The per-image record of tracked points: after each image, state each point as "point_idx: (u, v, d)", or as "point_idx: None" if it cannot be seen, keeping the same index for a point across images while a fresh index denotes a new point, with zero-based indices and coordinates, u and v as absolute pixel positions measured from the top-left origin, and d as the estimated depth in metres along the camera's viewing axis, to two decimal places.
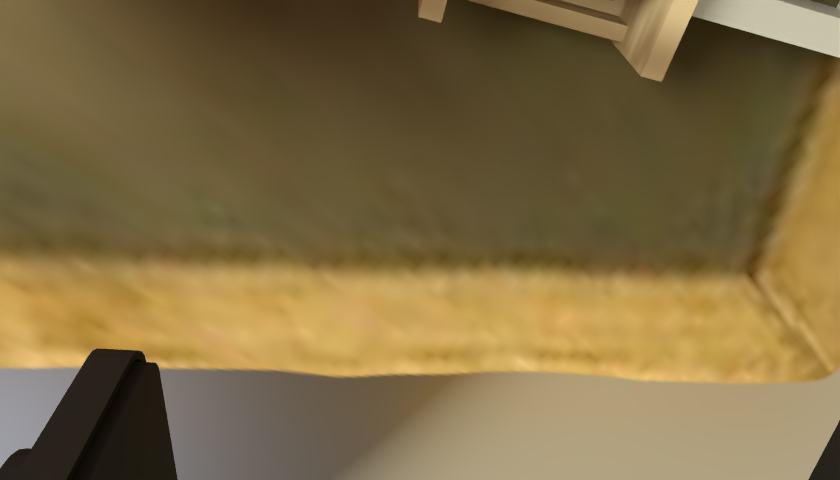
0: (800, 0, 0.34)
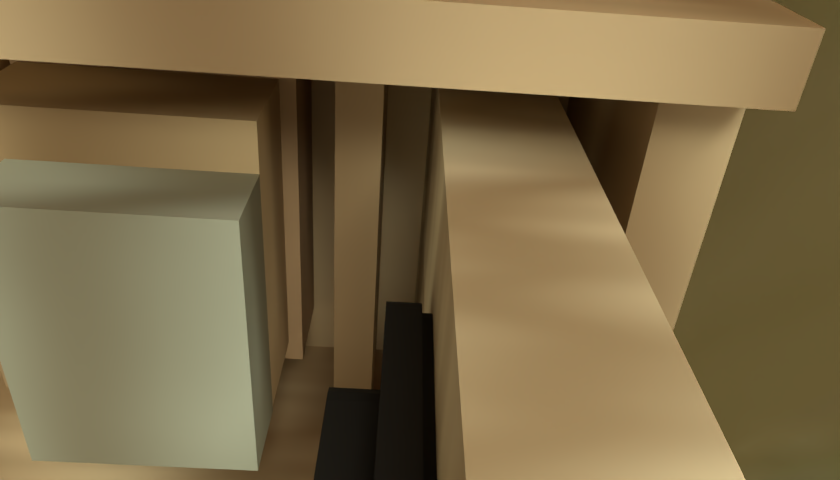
0: None
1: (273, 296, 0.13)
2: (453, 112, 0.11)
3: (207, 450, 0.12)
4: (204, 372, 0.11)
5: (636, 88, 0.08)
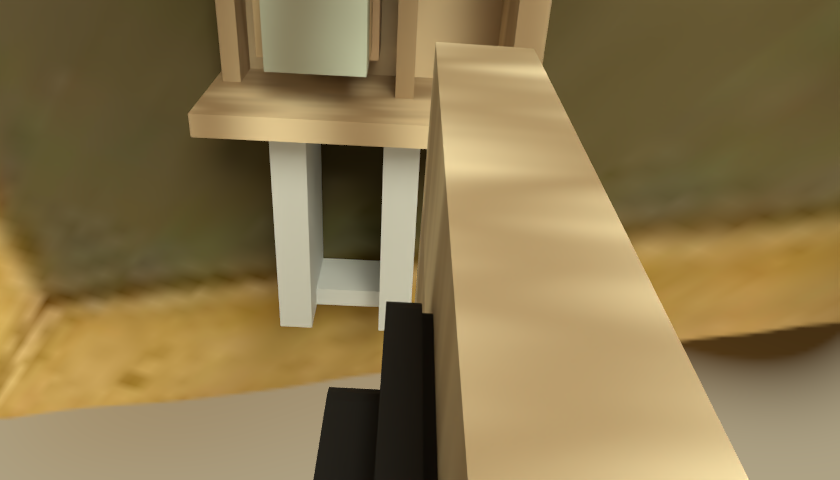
0: (318, 228, 0.36)
1: (370, 2, 0.28)
2: (454, 113, 0.11)
3: (344, 64, 0.27)
4: (347, 16, 0.26)
5: None
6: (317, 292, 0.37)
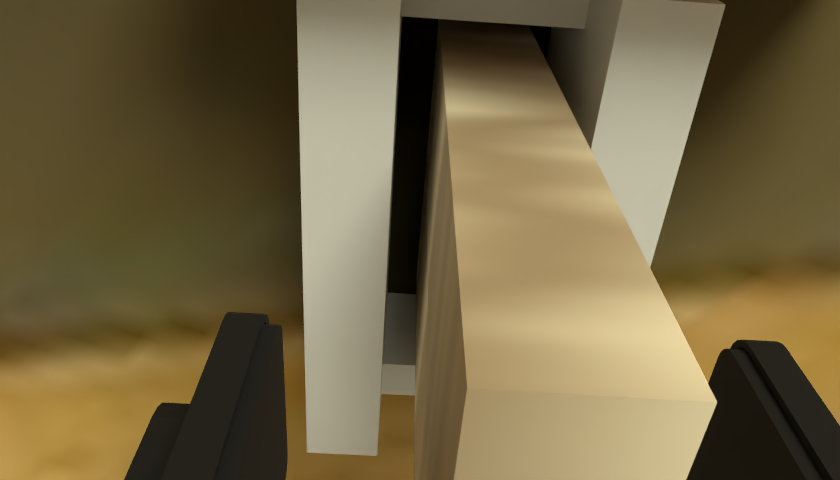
0: None
1: None
2: (454, 70, 0.12)
3: None
4: None
5: None
6: (384, 371, 0.17)
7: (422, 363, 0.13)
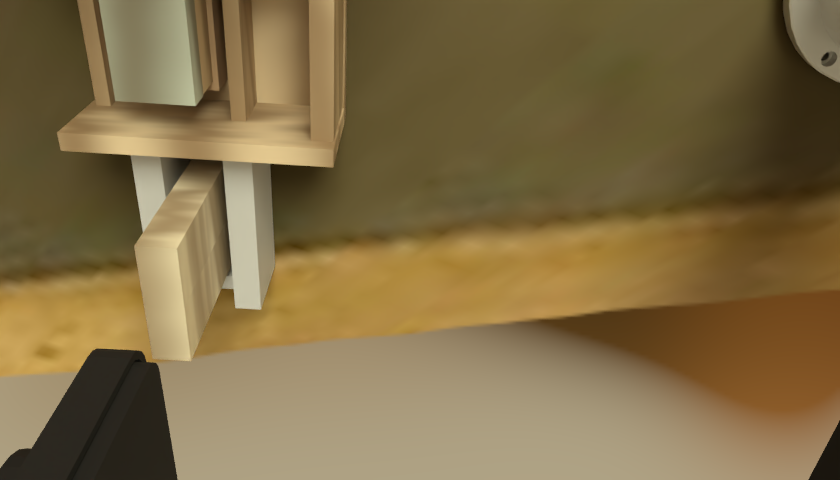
0: None
1: (202, 47, 0.36)
2: (187, 171, 0.40)
3: (177, 96, 0.35)
4: (175, 60, 0.34)
5: None
6: None
7: None
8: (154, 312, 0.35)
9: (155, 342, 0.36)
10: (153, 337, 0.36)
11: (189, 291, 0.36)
